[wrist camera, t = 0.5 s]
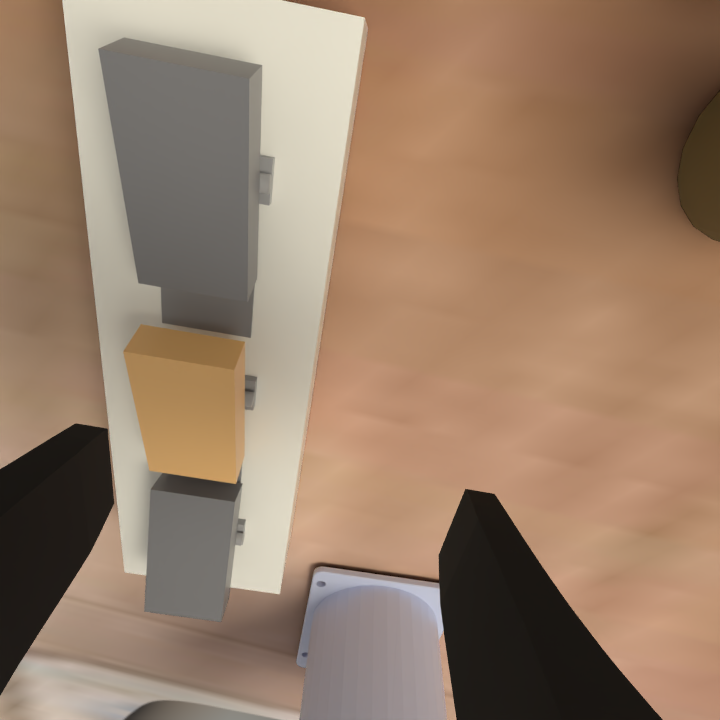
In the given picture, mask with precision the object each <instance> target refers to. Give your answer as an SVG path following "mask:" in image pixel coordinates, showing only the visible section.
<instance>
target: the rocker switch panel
mask: <svg viewBox="0 0 720 720" xmlns="http://www.w3.org/2000/svg"><path fill="white" fill-rule="evenodd" d="M62 1H63V10H64V19H65V29H66V38H67V47H68V56H69V65H70V75H71V84H72V93H73V102H74V111H75V121H76V130H77V139H78V148H79V157H80V166H81V176H82V185H83V194H84V203H85V212H86V222H87V231H88V240H89V249H90V258H91V268H92V277H93V286H94V295H95V304H96V313H97V323H98V332H99V341H100V350H101V359H102V369H103V378H104V387H105V396H106V405H107V415H108V424H109V433H110V442H111V451H112V460H113V470H114V479H115V488H116V497H117V506H118V516H119V525H120V534H121V543H122V552H123V562H124V571H125V572H126V573H133V574H140V575H146V570H147V550H148V530H149V510H150V490H151V488H152V487H153V485H154V484H155V482H156V481H157V480H158V478H159V477H160V475H161V474H162V473H161V472H154V471H149V467H148V462H147V458H146V453H145V448H144V444H143V439H142V435H141V430H140V426H139V421H138V417H137V412H136V408H135V403H134V399H133V394H132V390H131V385H130V381H129V376H128V372H127V367H126V363H125V358H124V354H123V351H124V349H125V348H126V346H127V345H128V343H129V342H130V340H131V339H132V337H133V336H134V334H135V332H136V331H137V329H138V328H139V326H140V325H141V324H143V325H149V326H155V327H161V328H167V329H173V330H178V331H184V332H190V333H196V334H202V335H208V336H214V337H220V338H226V339H232V340H238V341H244V342H245V456H244V459H243V463H242V466H241V469H240V473H239V476H238V479H237V483H243V484H242V493H241V501H240V509H239V518H238V526H237V535H236V543H235V552H234V560H233V569H232V577H231V586H230V587H232V588H239V589H246V590H253V591H260V592H267V593H274V594H280V590H281V585H282V580H283V575H284V569H285V564H286V559H287V554H288V549H289V544H290V538H291V533H292V527H293V520H294V514H295V507H296V501H297V494H298V487H299V481H300V474H301V468H302V461H303V455H304V448H305V441H306V435H307V428H308V422H309V415H310V408H311V402H312V395H313V389H314V382H315V375H316V369H317V362H318V356H319V349H320V343H321V336H322V329H323V323H324V316H325V310H326V303H327V296H328V290H329V283H330V277H331V270H332V264H333V257H334V250H335V244H336V237H337V231H338V224H339V217H340V211H341V204H342V198H343V191H344V184H345V178H346V171H347V165H348V158H349V152H350V145H351V138H352V132H353V125H354V119H355V112H356V105H357V99H358V92H359V86H360V79H361V72H362V66H363V59H364V53H365V46H366V40H367V33H368V27H367V24H366V20H365V18H364V17H360V16H355V15H350V14H345V13H340V12H336V11H331V10H326V9H321V8H316V7H312V6H307V5H302V4H297V3H292V2H288V1H283V0H62ZM122 38H129V39H134V40H139V41H144V42H149V43H154V44H159V45H164V46H169V47H174V48H179V49H184V50H189V51H194V52H199V53H204V54H209V55H214V56H219V57H224V58H229V59H234V60H239V61H244V62H249V63H254V64H259V65H262V105H261V146H260V187H259V228H258V269H257V280H256V283H255V285H254V288H253V290H252V293H251V295H250V297H249V300H248V302H244V301H238V300H232V299H226V298H220V297H215V296H209V295H203V294H197V293H192V292H186V291H180V290H174V289H169V288H163V287H157V286H151V285H146V284H140V283H138V278H137V272H136V267H135V261H134V255H133V249H132V243H131V237H130V232H129V226H128V220H127V214H126V208H125V202H124V196H123V191H122V185H121V179H120V173H119V167H118V161H117V156H116V150H115V144H114V138H113V132H112V126H111V121H110V115H109V109H108V103H107V97H106V91H105V85H104V80H103V74H102V68H101V62H100V56H99V50H98V49H99V48H101V47H103V46H105V45H108V44H110V43H112V42H115V41H117V40H119V39H122Z"/></svg>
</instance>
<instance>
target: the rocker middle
mask: <svg viewBox="0 0 720 720" xmlns="http://www.w3.org/2000/svg"><path fill="white" fill-rule="evenodd" d="M123 354H124V358H125V363H126V367H127V372H128V376H129V381H130V385H131V390H132V394H133V399H134V403H135V408H136V412H137V417H138V421H139V426H140V430H141V435H142V439H143V444H144V448H145V453H146V458H147V462H148V467H149V471H154V472H161V473H167V474H174V475H180V476H187V477H194V478H200V479H207V480H213V481H220V482H226V483H233V484H236V483H237V479H238V476H239V473H240V469H241V466H242V463H243V459H244V456H245V342H244V341H238V340H232V339H226V338H220V337H214V336H208V335H202V334H196V333H190V332H184V331H178V330H173V329H167V328H161V327H155V326H149V325H143V324H141V325H140V326H139V328H138V329H137V331H136V332H135V334H134V336H133V337H132V339H131V340H130V342H129V343H128V345H127V346H126V348H125V349H124V351H123Z"/></svg>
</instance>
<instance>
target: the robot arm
mask: <svg viewBox="0 0 720 720" xmlns="http://www.w3.org/2000/svg"><path fill="white" fill-rule="evenodd" d="M113 504H114V497H113V485H112V474H111V463H110V451H109V440H108V429H106V428H100V427H94V426H88V425H82V424H74V425H72V426H71V427H69V428H67V429H66V430H64V431H62V432H61V433H59V434H57V435H56V436H54V437H52V438H51V439H49V440H47V441H46V442H44V443H42V444H41V445H39V446H38V447H36V448H34V449H33V450H31V451H29V452H28V453H26V454H25V455H23V456H21V457H20V458H18V459H16V460H15V461H13V462H12V463H10V464H8V465H7V466H5V467H3V468H1V469H0V695H1V693H2V692H3V690H4V688H5V687H6V685H7V683H8V681H9V680H10V678H11V676H12V675H13V673H14V671H15V670H16V668H17V666H18V665H19V663H20V662H21V660H22V659H23V657H24V656H25V654H26V652H27V651H28V649H29V648H30V646H31V645H32V643H33V642H34V640H35V638H36V637H37V635H38V634H39V632H40V631H41V629H42V628H43V626H44V624H45V623H46V621H47V620H48V618H49V617H50V615H51V614H52V612H53V610H54V609H55V607H56V606H57V604H58V603H59V601H60V600H61V598H62V596H63V595H64V593H65V592H66V590H67V589H68V587H69V585H70V584H71V582H72V581H73V579H74V578H75V576H76V574H77V573H78V571H79V570H80V568H81V566H82V565H83V563H84V562H85V560H86V558H87V557H88V555H89V554H90V552H91V550H92V548H93V546H94V544H95V542H96V540H97V538H98V536H99V534H100V532H101V530H102V528H103V526H104V524H105V522H106V519H107V517H108V515H109V513H110V511H111V509H112V507H113ZM443 630H444V636H445V643H446V650H447V657H448V664H449V670H450V677H451V684H452V691H453V698H454V704H455V711H456V718H457V720H662V718H661V717H660V716H659V715H658V714H657V713H656V712H655V711H654V710H653V708H652V707H651V706H650V705H649V704H648V703H647V701H646V700H645V699H644V698H643V697H642V696H641V694H640V693H639V692H638V691H637V690H636V689H635V687H634V686H633V685H632V684H631V683H630V682H629V680H628V679H627V678H626V677H625V676H624V675H623V673H622V672H621V671H620V670H619V669H618V667H617V666H616V665H615V664H614V663H613V661H612V660H611V659H610V658H609V656H608V655H607V654H606V653H605V651H604V650H603V649H602V648H601V646H600V645H599V644H598V642H597V641H596V640H595V639H594V637H593V636H592V635H591V633H590V632H589V631H588V629H587V628H586V627H585V626H584V624H583V623H582V622H581V620H580V619H579V618H578V616H577V615H576V614H575V612H574V611H573V610H572V608H571V607H570V606H569V604H568V603H567V601H566V600H565V599H564V597H563V596H562V594H561V593H560V592H559V590H558V589H557V587H556V586H555V584H554V583H553V581H552V580H551V579H550V577H549V576H548V574H547V573H546V571H545V570H544V569H543V567H542V566H541V564H540V563H539V561H538V560H537V558H536V557H535V555H534V554H533V552H532V551H531V549H530V548H529V546H528V545H527V543H526V542H525V540H524V538H523V537H522V535H521V534H520V532H519V531H518V529H517V528H516V526H515V525H514V523H513V522H512V520H511V518H510V517H509V515H508V514H507V512H506V511H505V509H504V508H503V506H502V505H501V503H500V502H499V500H498V499H497V497H496V496H495V494H492V493H486V492H480V491H474V490H468V489H465V491H464V494H463V496H462V499H461V501H460V504H459V506H458V509H457V511H456V514H455V516H454V519H453V521H452V524H451V526H450V528H449V531H448V533H447V536H446V538H445V541H444V543H443V546H442V548H441V551H440V553H439V583H435V582H428V581H421V580H414V579H407V578H400V577H393V576H386V575H379V574H373V573H366V572H359V571H352V570H345V569H338V568H331V567H324V566H321V567H317V568H316V569H315V570H314V573H313V578H312V583H311V588H310V593H309V598H308V603H307V608H306V613H305V618H304V623H303V628H302V633H301V639H300V644H299V649H298V654H297V660H296V663H297V665H298V666H300V667H303V668H306V671H305V679H304V687H303V695H302V703H301V711H300V719H299V720H447V715H446V705H445V695H444V685H443V676H442V666H441V656H440V646H439V639H440V637H441V635H442V633H443Z"/></svg>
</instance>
